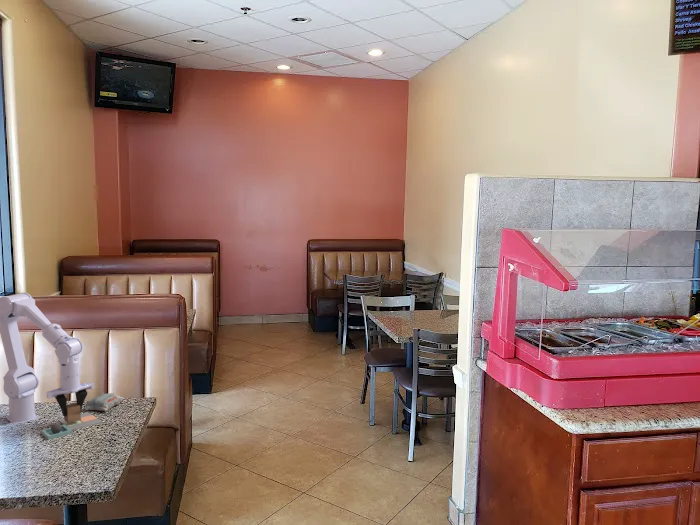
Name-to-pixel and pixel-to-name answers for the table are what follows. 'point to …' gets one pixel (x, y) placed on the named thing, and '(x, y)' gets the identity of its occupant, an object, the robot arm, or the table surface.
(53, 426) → the ball
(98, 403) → the packaged food
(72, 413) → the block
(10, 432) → the table surface
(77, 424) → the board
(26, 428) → the table surface
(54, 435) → the dish
